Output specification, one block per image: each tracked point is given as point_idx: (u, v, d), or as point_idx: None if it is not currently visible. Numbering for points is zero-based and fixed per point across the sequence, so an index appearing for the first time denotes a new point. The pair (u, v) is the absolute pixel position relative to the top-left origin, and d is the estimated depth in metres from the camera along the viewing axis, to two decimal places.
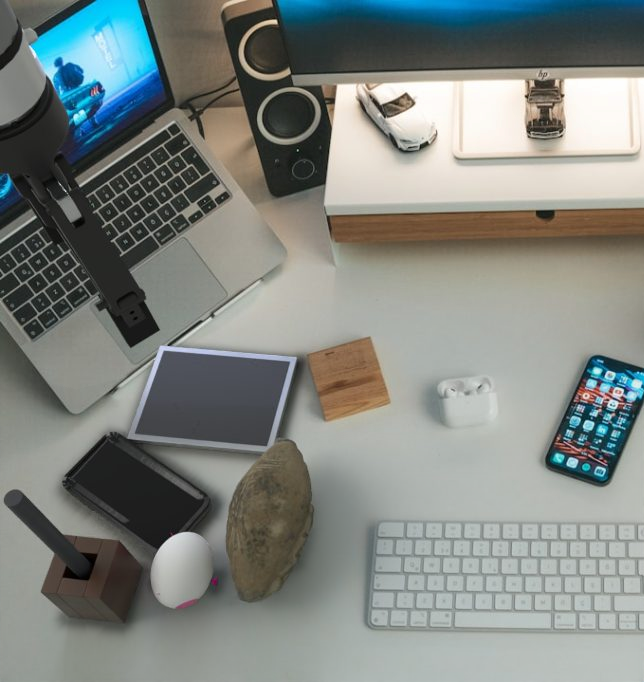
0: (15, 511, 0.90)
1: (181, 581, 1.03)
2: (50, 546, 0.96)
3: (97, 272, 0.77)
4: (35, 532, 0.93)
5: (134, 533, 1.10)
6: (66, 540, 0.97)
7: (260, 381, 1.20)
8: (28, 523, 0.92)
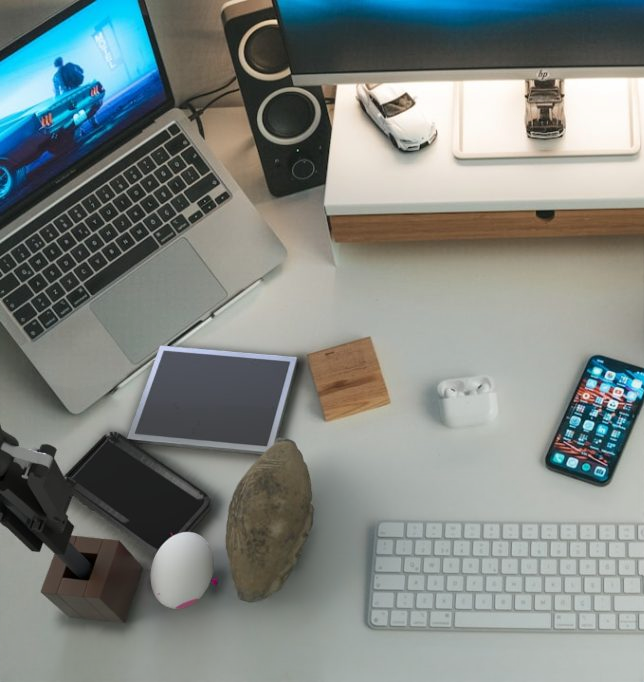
0: (15, 511, 0.90)
1: (181, 581, 1.03)
2: None
3: (56, 498, 0.86)
4: None
5: (134, 533, 1.10)
6: None
7: (260, 381, 1.20)
8: None
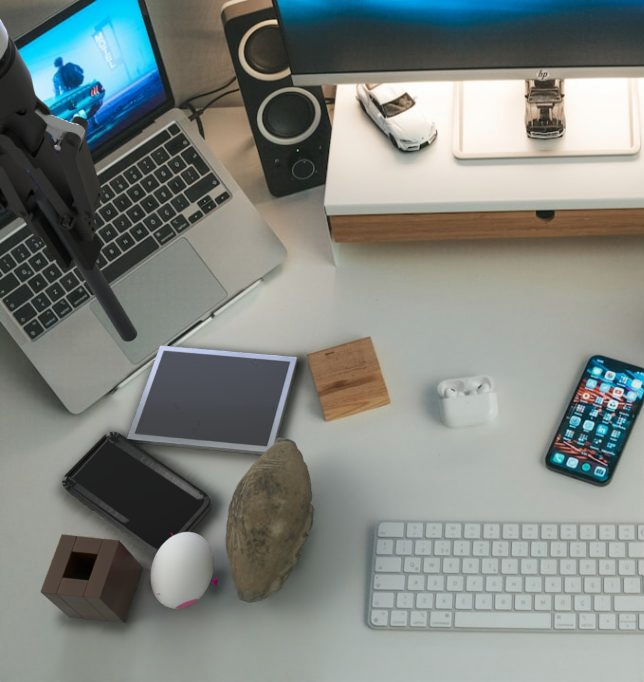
0: (45, 208, 0.90)
1: (181, 581, 1.03)
2: (78, 262, 0.97)
3: (87, 185, 0.87)
4: (64, 241, 0.94)
5: (134, 533, 1.10)
6: None
7: (260, 381, 1.20)
8: (57, 227, 0.92)
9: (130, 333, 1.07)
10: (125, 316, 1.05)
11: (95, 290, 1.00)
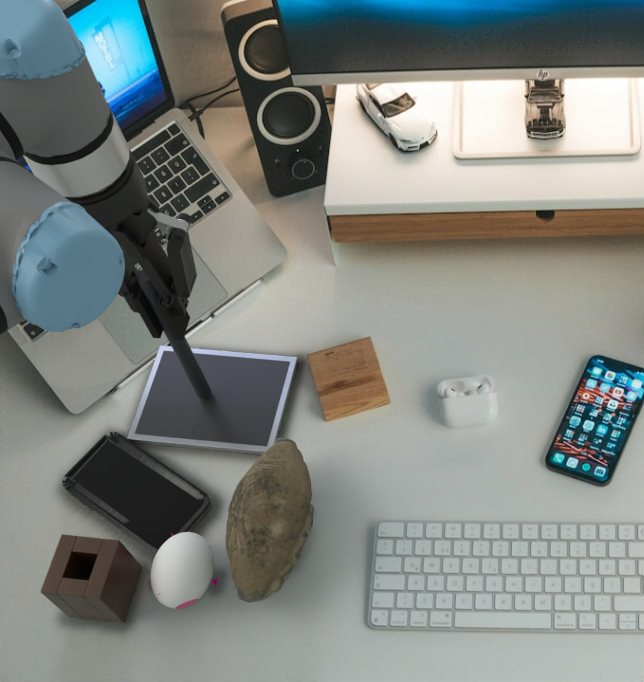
0: (146, 288, 1.01)
1: (181, 581, 1.03)
2: (168, 332, 1.07)
3: (186, 270, 0.98)
4: (158, 315, 1.04)
5: (134, 533, 1.10)
6: None
7: (260, 381, 1.20)
8: (154, 303, 1.03)
9: (206, 392, 1.17)
10: (203, 377, 1.15)
11: (180, 356, 1.10)
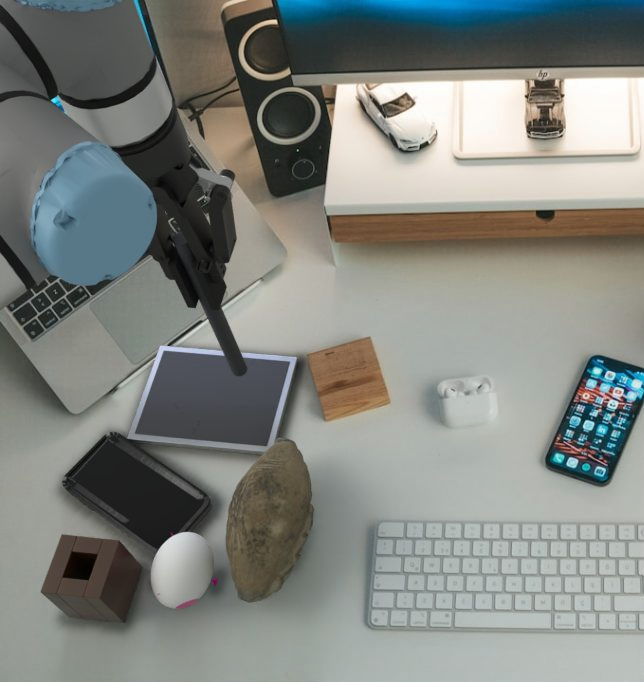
0: (182, 252, 0.95)
1: (181, 581, 1.03)
2: (205, 302, 1.01)
3: (227, 232, 0.92)
4: (195, 282, 0.98)
5: (134, 533, 1.10)
6: None
7: (260, 381, 1.20)
8: (191, 269, 0.97)
9: (242, 368, 1.11)
10: (239, 352, 1.09)
11: (216, 328, 1.05)
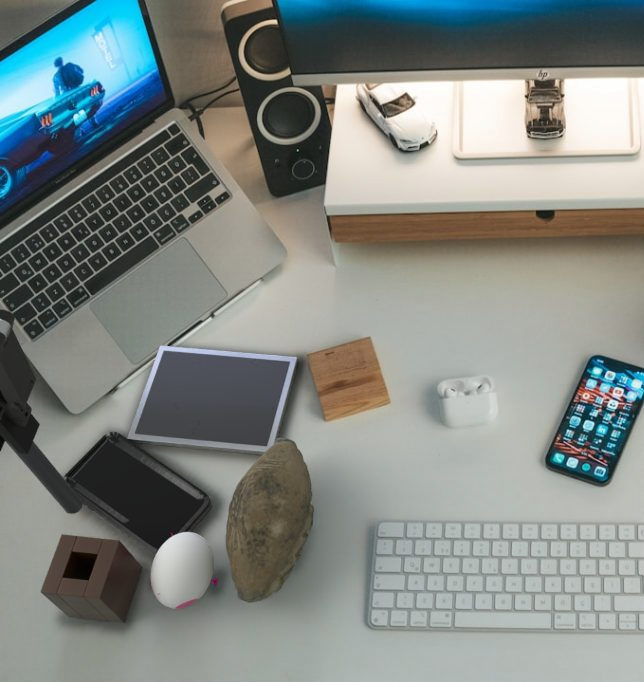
0: None
1: (181, 581, 1.03)
2: None
3: (15, 378, 0.77)
4: None
5: (135, 533, 1.10)
6: None
7: (260, 381, 1.20)
8: None
9: (74, 506, 0.96)
10: (68, 489, 0.94)
11: (32, 468, 0.89)
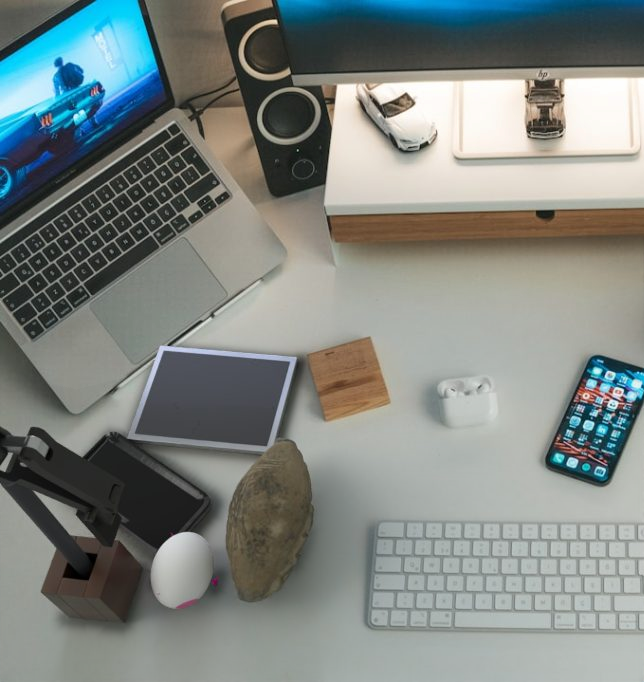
0: (11, 492, 0.91)
1: (181, 581, 1.03)
2: (47, 535, 0.96)
3: (83, 485, 0.83)
4: (32, 518, 0.94)
5: (135, 533, 1.10)
6: (64, 530, 0.98)
7: (260, 381, 1.20)
8: (24, 507, 0.93)
9: None
10: None
11: (66, 556, 1.00)
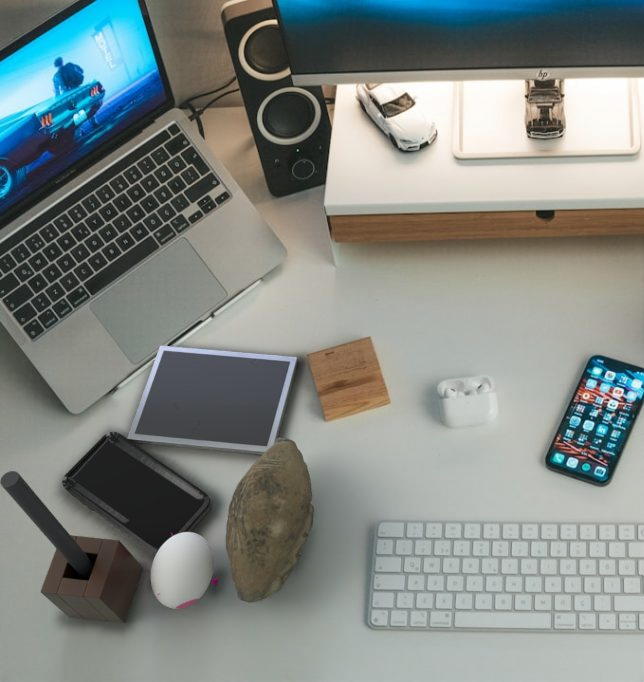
0: (11, 492, 0.91)
1: (181, 581, 1.03)
2: (47, 535, 0.97)
3: None
4: (32, 518, 0.94)
5: (135, 533, 1.10)
6: (64, 530, 0.98)
7: (260, 381, 1.20)
8: (24, 507, 0.93)
9: None
10: None
11: (66, 556, 1.00)
